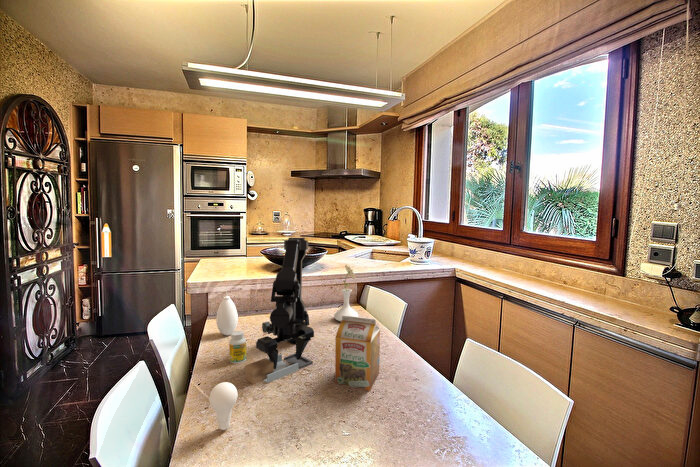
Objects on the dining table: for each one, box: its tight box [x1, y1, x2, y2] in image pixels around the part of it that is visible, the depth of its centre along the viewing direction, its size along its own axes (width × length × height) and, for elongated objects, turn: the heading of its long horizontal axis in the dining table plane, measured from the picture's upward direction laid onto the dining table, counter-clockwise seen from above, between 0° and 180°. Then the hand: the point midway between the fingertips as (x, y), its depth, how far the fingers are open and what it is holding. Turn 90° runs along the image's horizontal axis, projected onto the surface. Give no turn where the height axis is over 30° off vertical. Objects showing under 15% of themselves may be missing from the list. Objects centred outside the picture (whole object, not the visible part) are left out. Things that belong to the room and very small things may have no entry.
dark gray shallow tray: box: [283, 352, 314, 370], centre depth 113 cm, size 5×9×1 cm, turn 46°
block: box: [244, 357, 274, 385], centre depth 102 cm, size 7×4×4 cm, turn 135°
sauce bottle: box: [216, 290, 239, 336], centre depth 135 cm, size 8×8×18 cm
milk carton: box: [334, 315, 381, 392], centre depth 102 cm, size 11×11×19 cm
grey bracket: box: [263, 353, 299, 384], centre depth 106 cm, size 11×10×2 cm
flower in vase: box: [333, 264, 360, 322], centre depth 154 cm, size 13×11×25 cm
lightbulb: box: [208, 381, 239, 431], centre depth 79 cm, size 6×6×11 cm
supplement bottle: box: [228, 330, 248, 365], centre depth 113 cm, size 5×5×10 cm
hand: (286, 363), depth 109 cm, fingers open, 9 cm apart
